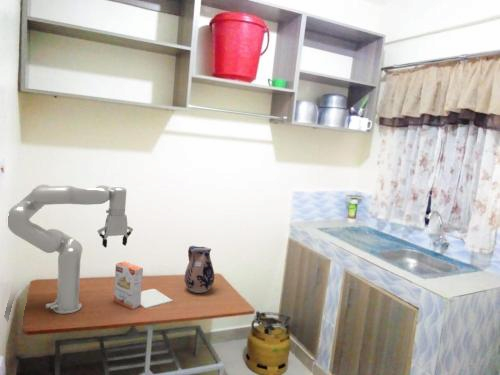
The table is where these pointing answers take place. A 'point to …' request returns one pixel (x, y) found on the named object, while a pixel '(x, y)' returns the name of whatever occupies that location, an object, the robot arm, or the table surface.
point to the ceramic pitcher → (199, 270)
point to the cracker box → (128, 285)
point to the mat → (153, 298)
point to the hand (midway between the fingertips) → (114, 245)
